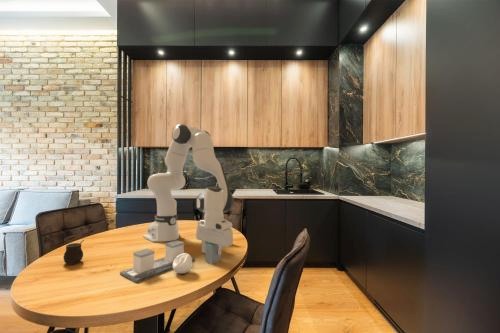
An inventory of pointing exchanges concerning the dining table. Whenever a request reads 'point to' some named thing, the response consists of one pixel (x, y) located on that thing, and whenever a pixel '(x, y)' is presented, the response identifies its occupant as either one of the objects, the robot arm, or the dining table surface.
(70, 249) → the mate gourd
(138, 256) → the plate
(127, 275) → the rail panel
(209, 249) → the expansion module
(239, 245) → the dining table surface
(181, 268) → the white lumpy ball
